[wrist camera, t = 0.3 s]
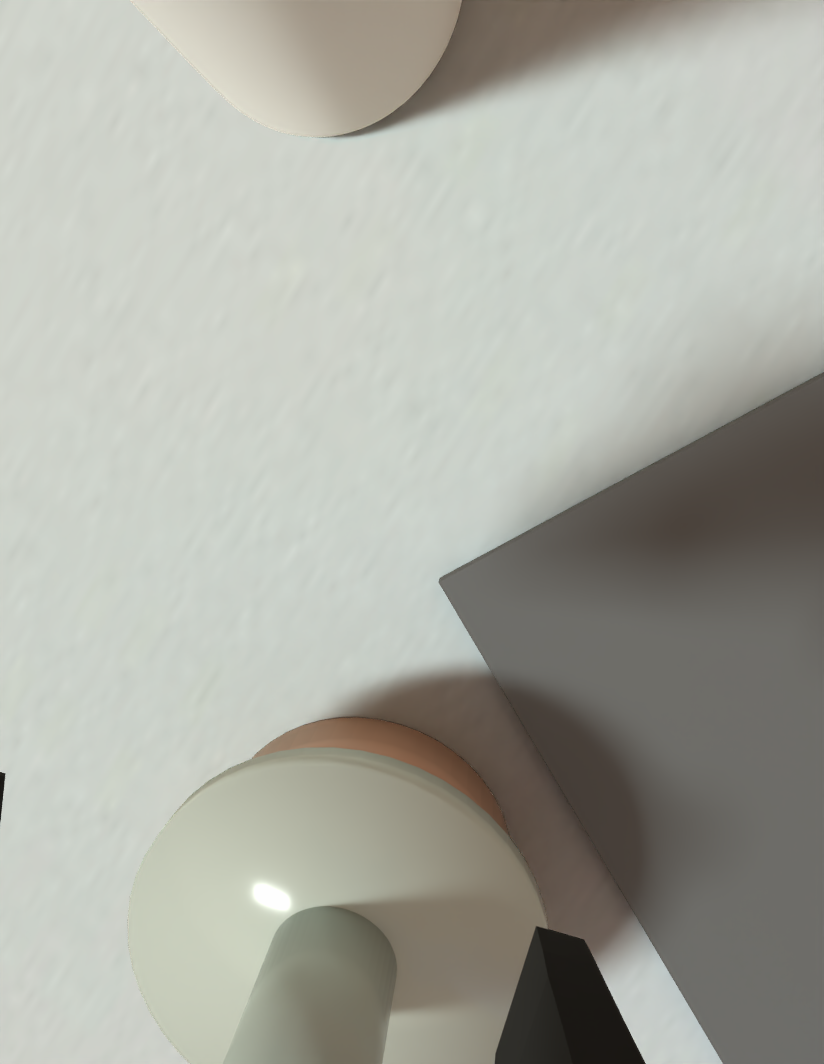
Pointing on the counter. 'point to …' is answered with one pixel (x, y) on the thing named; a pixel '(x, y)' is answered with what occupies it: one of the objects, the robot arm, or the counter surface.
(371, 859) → the lid
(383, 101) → the can
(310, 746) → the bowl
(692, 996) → the mat
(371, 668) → the counter surface
